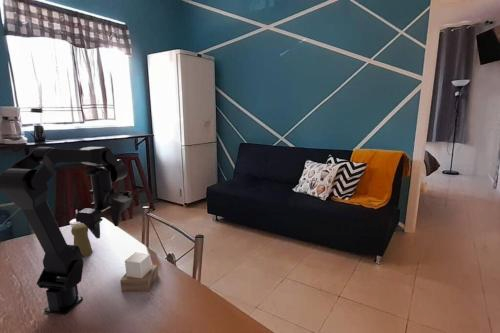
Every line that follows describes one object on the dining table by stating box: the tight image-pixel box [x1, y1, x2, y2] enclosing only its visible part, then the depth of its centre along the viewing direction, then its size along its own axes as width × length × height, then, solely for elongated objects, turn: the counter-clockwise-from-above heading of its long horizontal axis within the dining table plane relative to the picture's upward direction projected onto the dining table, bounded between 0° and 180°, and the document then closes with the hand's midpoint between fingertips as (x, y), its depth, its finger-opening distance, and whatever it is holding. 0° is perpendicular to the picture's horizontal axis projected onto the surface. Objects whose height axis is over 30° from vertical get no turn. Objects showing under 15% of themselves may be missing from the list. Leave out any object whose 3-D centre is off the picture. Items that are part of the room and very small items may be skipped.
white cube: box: [124, 251, 152, 278], centre depth 84 cm, size 5×5×5 cm
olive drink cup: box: [70, 224, 94, 259], centre depth 102 cm, size 6×6×11 cm
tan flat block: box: [119, 264, 159, 293], centre depth 85 cm, size 8×8×4 cm
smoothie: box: [69, 209, 89, 236], centre depth 109 cm, size 6×6×14 cm
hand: (107, 231), depth 93 cm, fingers open, 9 cm apart
